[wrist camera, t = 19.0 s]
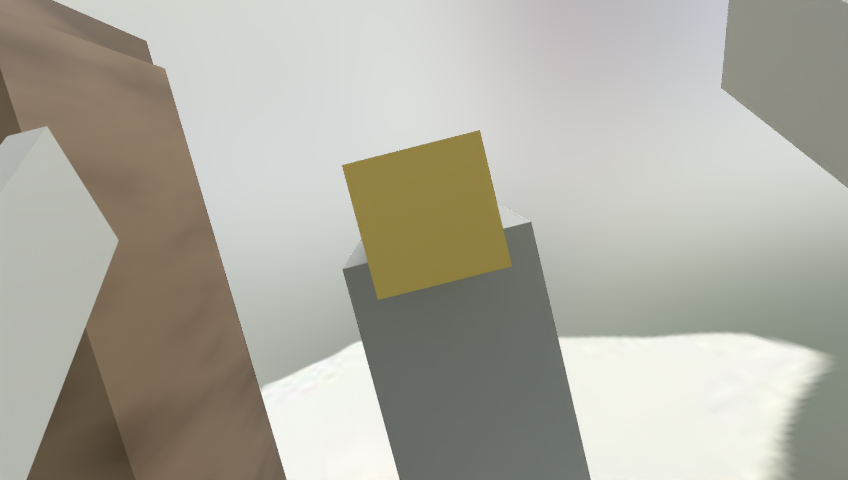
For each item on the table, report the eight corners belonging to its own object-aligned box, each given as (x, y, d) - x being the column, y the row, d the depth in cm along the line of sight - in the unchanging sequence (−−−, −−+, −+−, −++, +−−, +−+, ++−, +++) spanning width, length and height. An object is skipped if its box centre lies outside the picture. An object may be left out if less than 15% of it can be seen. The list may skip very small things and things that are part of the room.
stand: (-54, 1024, 20) (-471, 22, 16) (164, 620, 38) (-12, 92, 34) (314, 937, 20) (-18, -97, 16) (360, 572, 38) (207, 36, 34)
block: (377, 299, 19) (342, 165, 18) (399, 217, 45) (384, 160, 44) (511, 266, 19) (479, 130, 18) (455, 202, 44) (441, 145, 44)
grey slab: (452, 673, 29) (342, 269, 27) (438, 491, 45) (368, 227, 43) (625, 631, 29) (531, 221, 27) (550, 463, 45) (486, 197, 42)
